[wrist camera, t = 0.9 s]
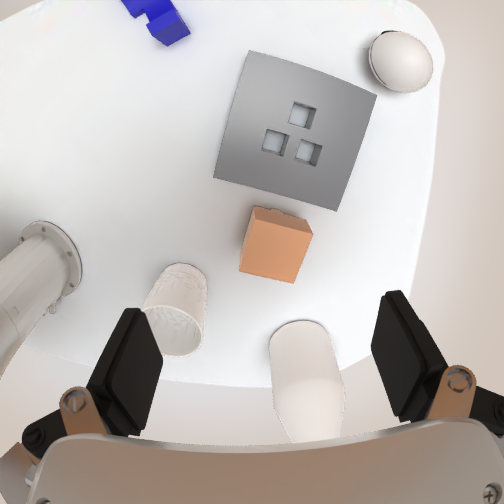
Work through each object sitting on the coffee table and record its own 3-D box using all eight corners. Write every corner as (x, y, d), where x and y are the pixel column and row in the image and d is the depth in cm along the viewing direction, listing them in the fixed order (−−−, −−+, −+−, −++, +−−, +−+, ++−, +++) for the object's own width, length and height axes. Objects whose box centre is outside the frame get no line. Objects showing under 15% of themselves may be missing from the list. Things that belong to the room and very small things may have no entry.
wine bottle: (310, 307, 42) (360, 516, 15) (337, 342, 45) (385, 516, 19) (256, 336, 44) (264, 534, 17) (288, 367, 48) (308, 536, 21)
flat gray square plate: (329, 203, 34) (336, 211, 32) (215, 171, 33) (213, 177, 30) (366, 95, 28) (377, 95, 26) (248, 55, 26) (248, 50, 24)
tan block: (286, 254, 38) (293, 283, 32) (240, 243, 37) (239, 271, 31) (301, 211, 35) (313, 234, 29) (253, 198, 34) (254, 218, 28)
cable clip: (118, -11, 21) (98, -27, 16) (150, -30, 20) (134, -49, 15) (156, 53, 26) (138, 43, 21) (191, 33, 25) (179, 19, 20)
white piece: (416, 52, 25) (450, 45, 19) (405, 102, 28) (439, 104, 22) (344, 19, 24) (367, 0, 17) (331, 72, 27) (353, 63, 21)
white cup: (216, 304, 41) (209, 356, 32) (164, 308, 41) (147, 357, 33) (206, 255, 38) (194, 303, 29) (149, 261, 38) (124, 307, 29)
